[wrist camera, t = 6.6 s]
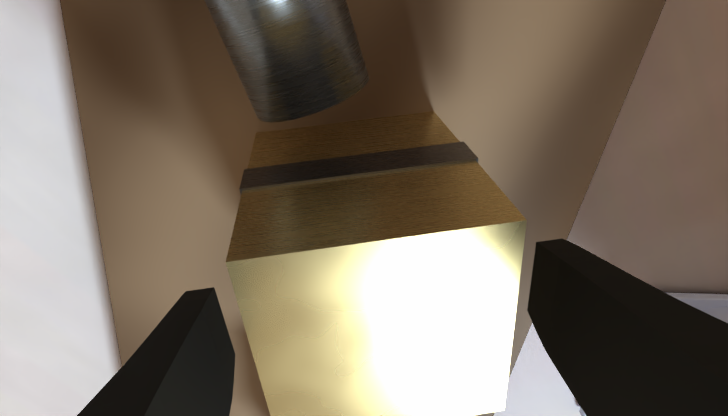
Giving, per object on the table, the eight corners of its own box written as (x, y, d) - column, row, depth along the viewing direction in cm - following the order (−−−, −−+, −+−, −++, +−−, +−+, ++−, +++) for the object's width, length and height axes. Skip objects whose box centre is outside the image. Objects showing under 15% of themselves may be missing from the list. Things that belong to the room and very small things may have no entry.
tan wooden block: (435, 109, 13) (530, 216, 8) (435, 255, 15) (506, 411, 10) (253, 131, 12) (222, 260, 7) (285, 276, 15) (277, 449, 10)
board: (766, -341, 10) (822, -376, 9) (466, 436, 23) (474, 459, 22) (-6, -594, 7) (-57, -687, 6) (148, 447, 20) (140, 474, 19)
